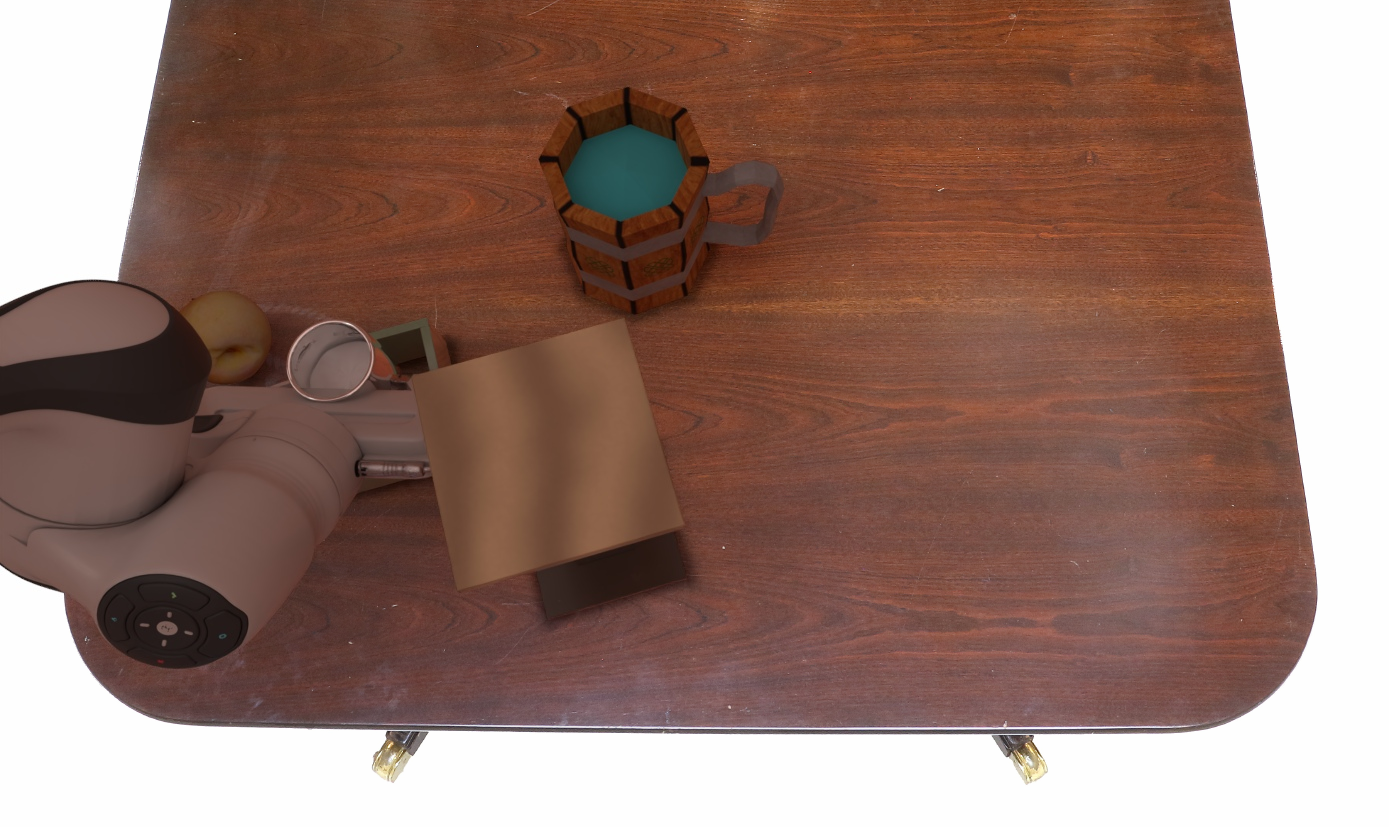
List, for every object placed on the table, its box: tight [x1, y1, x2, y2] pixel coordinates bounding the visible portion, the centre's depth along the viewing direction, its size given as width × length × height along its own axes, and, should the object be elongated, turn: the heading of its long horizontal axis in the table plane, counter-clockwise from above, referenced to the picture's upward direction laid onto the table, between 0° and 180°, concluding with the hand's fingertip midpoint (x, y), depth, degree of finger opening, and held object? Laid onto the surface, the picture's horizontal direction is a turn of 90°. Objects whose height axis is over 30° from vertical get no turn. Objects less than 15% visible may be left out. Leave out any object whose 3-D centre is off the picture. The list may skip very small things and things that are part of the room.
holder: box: [357, 316, 452, 494], centre depth 80 cm, size 12×12×6 cm
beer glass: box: [285, 318, 403, 403], centre depth 76 cm, size 7×7×15 cm
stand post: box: [535, 531, 688, 621], centre depth 67 cm, size 12×12×27 cm
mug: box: [538, 86, 785, 315], centre depth 80 cm, size 20×14×15 cm
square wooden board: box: [411, 317, 686, 594], centre depth 54 cm, size 13×13×1 cm
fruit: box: [178, 290, 272, 385], centre depth 81 cm, size 8×8×8 cm
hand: (362, 380), depth 75 cm, fingers closed on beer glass, 7 cm apart
